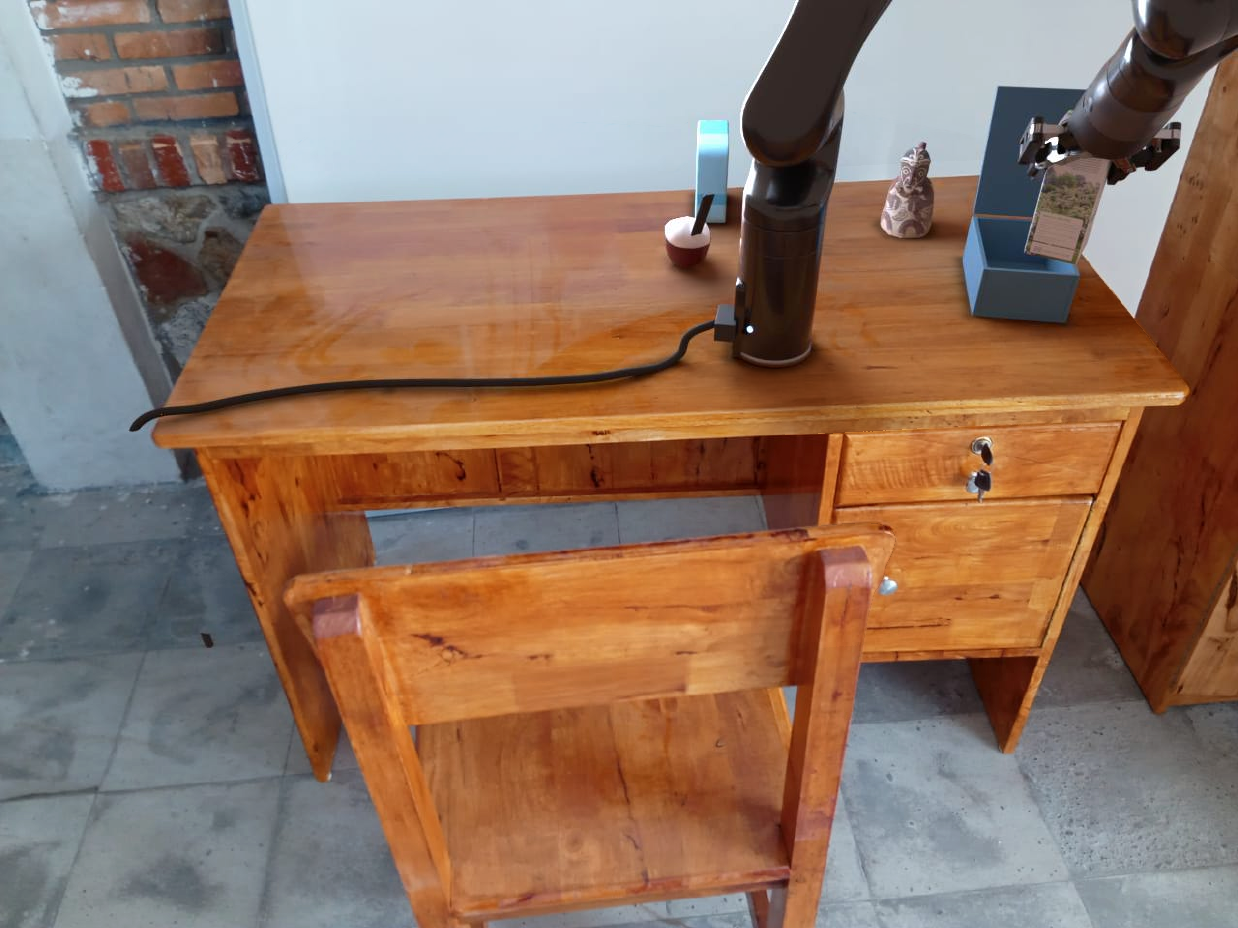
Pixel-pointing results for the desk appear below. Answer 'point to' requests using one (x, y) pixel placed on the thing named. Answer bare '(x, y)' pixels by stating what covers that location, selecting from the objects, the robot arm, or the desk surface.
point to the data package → (712, 167)
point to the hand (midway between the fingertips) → (1072, 174)
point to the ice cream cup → (689, 237)
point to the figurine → (910, 197)
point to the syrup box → (1067, 208)
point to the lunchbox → (1014, 274)
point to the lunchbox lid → (1016, 147)
